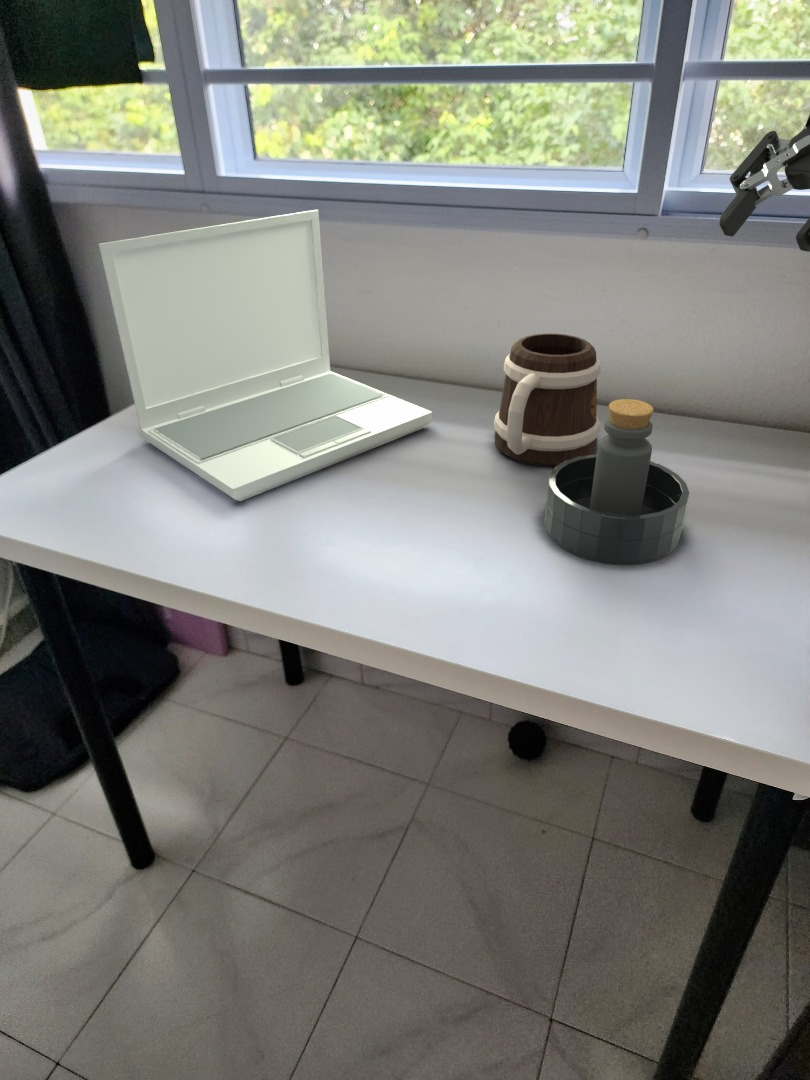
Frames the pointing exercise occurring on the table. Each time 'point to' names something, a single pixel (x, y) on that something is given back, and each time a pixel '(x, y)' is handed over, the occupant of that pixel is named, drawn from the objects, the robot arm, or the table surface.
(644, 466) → the bottle
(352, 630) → the table surface
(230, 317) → the laptop
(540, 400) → the mug
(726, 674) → the table surface
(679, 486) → the pot
